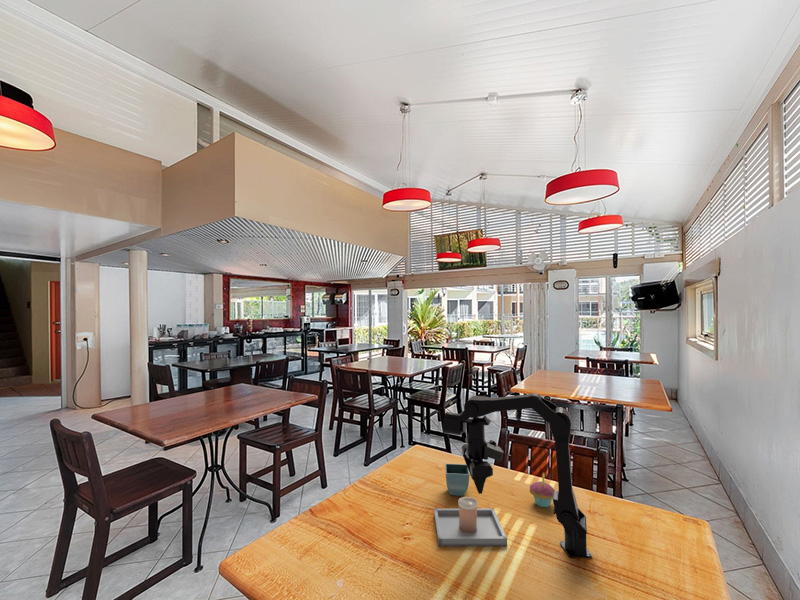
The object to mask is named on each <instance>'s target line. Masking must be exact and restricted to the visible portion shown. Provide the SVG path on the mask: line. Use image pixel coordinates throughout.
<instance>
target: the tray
mask: <svg viewBox="0 0 800 600" xmlns="http://www.w3.org/2000/svg"><path fill="white" fill-rule="evenodd" d="M433 509H434V510H433V515H434V517H433V518H434V523H435V530H436V536H437V543H438V544H437V545H438V547H508V537H507V535H506V533H505V531H504V529H503V526H502V524H501V522H500V520H499V517H498V515H497V513H496V511H495V509H494V508H487V507H486V508H485V507H484V508H483V507H482V508H481V507H480V508H478V507H477V531H476V532H474V533H465V532H463V531H461V530H460V528H459V508H433Z"/></svg>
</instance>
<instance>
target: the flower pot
mask: <svg viewBox="0 0 800 600" xmlns="http://www.w3.org/2000/svg"><path fill="white" fill-rule="evenodd" d="M444 467H445V468H444V469H445V470H444V471H445V481H446V482H445V483H446V487H447V491H448V493H449V496H458V497H459V496H460V497H461V496H462V497H465V495H466V493H467V491H468V489H469V484H470V477H471V475H470V472H469V470H468V467H467V465H466V463H465V464H463V463H462V464H460V463H445V464H444Z"/></svg>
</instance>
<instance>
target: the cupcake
mask: <svg viewBox="0 0 800 600" xmlns="http://www.w3.org/2000/svg"><path fill="white" fill-rule="evenodd" d="M541 477H542V478H541V481H536V482H535V481H534V482H533V483H532V484H530V485H529V493H530V494H531V495H532V496H533V499H534V502H535V504H536V505H537V506H539V507H542V508H549V507H550V506H551V503H552V502H553V491H554V490H555V488H554V487H553V486H552V485H551V484H549V483H547V482H545V478H546V477H545V472H543V473H542V476H541Z"/></svg>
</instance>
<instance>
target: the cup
mask: <svg viewBox="0 0 800 600" xmlns="http://www.w3.org/2000/svg"><path fill="white" fill-rule="evenodd" d="M457 504H458V509H459V528H460V530H461V531H463V532H465V533H474V532H476V531H477V508H478V501H477V499H475V498H473V497H470V496H462V497H460V498H459V499H458V502H457Z"/></svg>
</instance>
